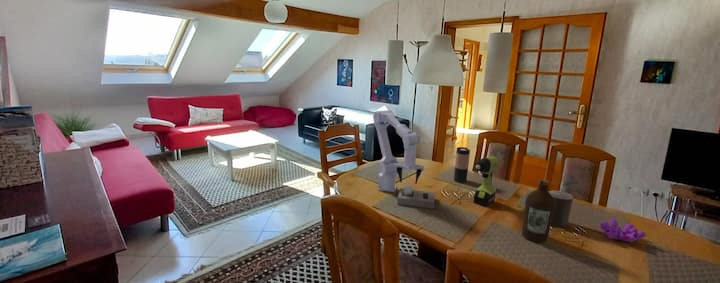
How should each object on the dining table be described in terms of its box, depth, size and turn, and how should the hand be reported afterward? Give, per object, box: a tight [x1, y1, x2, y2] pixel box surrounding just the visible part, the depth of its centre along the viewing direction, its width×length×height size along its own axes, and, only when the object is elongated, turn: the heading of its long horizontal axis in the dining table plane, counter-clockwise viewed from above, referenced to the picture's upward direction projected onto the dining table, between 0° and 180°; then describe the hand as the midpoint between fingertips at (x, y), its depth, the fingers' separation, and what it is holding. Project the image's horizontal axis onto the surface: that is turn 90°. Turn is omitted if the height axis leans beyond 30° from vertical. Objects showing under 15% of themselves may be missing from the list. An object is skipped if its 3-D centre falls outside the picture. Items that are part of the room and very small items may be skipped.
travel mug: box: [453, 146, 471, 184], centre depth 189 cm, size 8×8×20 cm
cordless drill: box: [472, 156, 501, 208], centre depth 158 cm, size 23×7×25 cm, turn 137°
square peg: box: [403, 183, 414, 197], centre depth 164 cm, size 4×4×8 cm
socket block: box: [396, 188, 436, 209], centre depth 163 cm, size 18×12×4 cm, turn 77°
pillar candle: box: [548, 190, 574, 228], centre depth 143 cm, size 10×10×15 cm
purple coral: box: [599, 219, 647, 242], centre depth 132 cm, size 11×15×10 cm
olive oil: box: [521, 179, 555, 244], centre depth 130 cm, size 11×11×25 cm
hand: (408, 182), depth 162 cm, fingers open, 7 cm apart
